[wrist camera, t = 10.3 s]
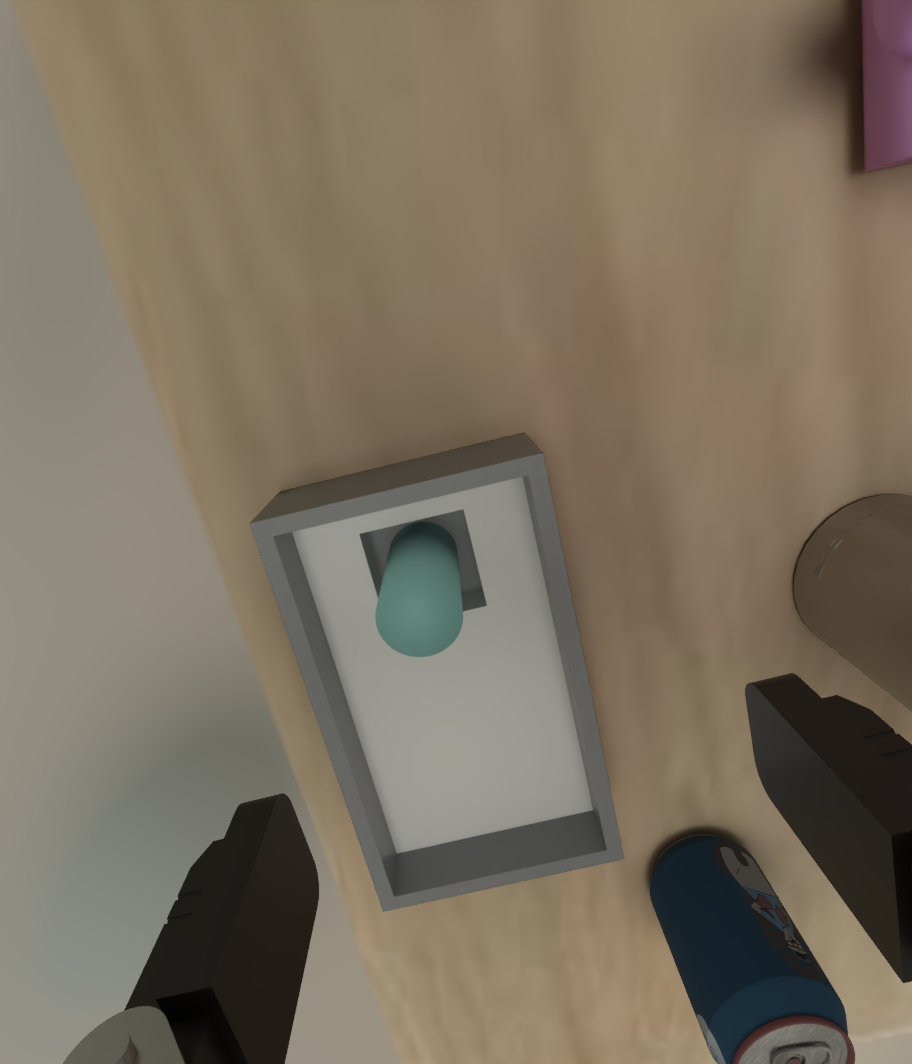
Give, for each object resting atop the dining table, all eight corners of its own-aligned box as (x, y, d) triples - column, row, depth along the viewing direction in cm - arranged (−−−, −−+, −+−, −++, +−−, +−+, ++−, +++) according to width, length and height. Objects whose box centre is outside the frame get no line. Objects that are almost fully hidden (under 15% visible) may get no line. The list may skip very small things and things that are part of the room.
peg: (471, 546, 35) (480, 606, 27) (432, 598, 35) (430, 672, 28) (414, 508, 34) (407, 559, 26) (375, 562, 35) (358, 628, 27)
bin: (524, 432, 34) (543, 453, 28) (596, 783, 40) (624, 858, 35) (279, 491, 34) (249, 523, 29) (390, 830, 41) (383, 911, 35)
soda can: (645, 918, 43) (722, 1128, 32) (640, 832, 41) (721, 1023, 30) (750, 904, 43) (865, 1109, 32) (750, 817, 41) (872, 1003, 30)
